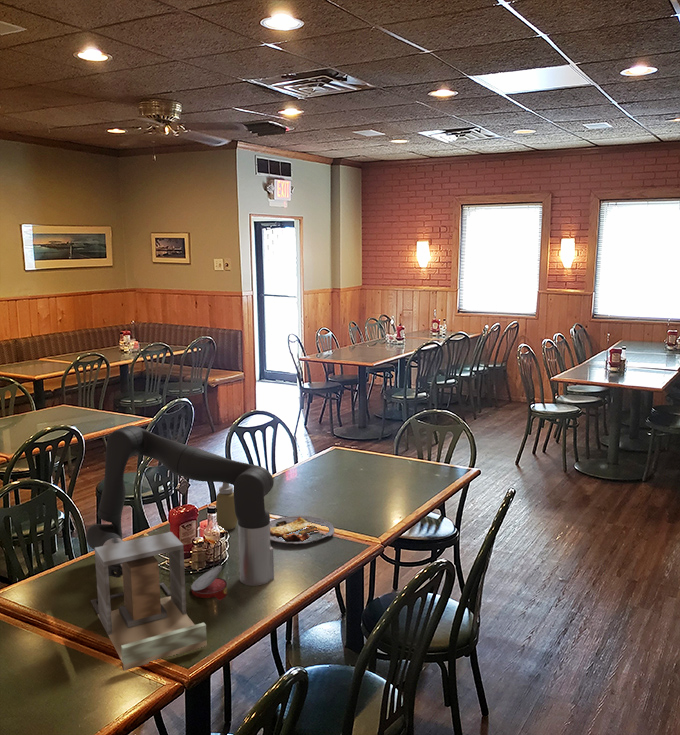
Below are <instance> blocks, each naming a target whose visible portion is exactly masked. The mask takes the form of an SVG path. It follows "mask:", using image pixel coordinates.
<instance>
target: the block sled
mask: <svg viewBox="0 0 680 735" xmlns="http://www.w3.org/2000/svg"><path fill="white" fill-rule="evenodd" d="M159 566H160V565H159V561H158V560H157V558H156V557H155V555H154V556H150V557H145V558H141V559H136V560H132V561H127V562H123V563H122V571H123V576H122V585H123V587H122V588H123V592H124V596H123V600H124V601H123V603H124V605H121V606H119V607H118V609H119V613H120V615H121V616H122V618H123V620H124V622H125V623H126V625H127V627H128V628H129V627H133V626H136V625H140V624H144V623H147V622H151V621H155V620H159V619H162V618H166V617H167V611H166V610H165V609H164V607H163V606H162V604H161V602H160V598H161V590H160V589H161V587H160V583H161V582H160V571H159V570H160V568H159Z"/></svg>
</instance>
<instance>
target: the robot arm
mask: <svg viewBox="0 0 680 735" xmlns="http://www.w3.org/2000/svg"><path fill="white" fill-rule="evenodd" d="M134 456H135V457H136V456H143V457H148V458H151V459H154V460H156V461H158V462H159V463H161V464H162V465H163V466H164V467H165V468H166V469H168V471H170V472H171V473H172V474H175V475H177V476H180V477H183V478H185V479H189V480H191V481H197V482H204V483H205V482H208V483H209V482H210V483H222V484H223V483H228V484H229V485H231V486H233V492H234V506H235V514H236V517H237V519H238V520H237V532H238V534H237V535H238V536H237V537H238V560H239V562H238V563H239V564H238V565H239V566H238V567H239V568H238V569H239V571H238V572H239V581H240V583H242V584H243V585H246V586H253V587H254V586H261V584H262V585H265V584H267V583H269V582H270V581H271V579H272V580H274V579H275V569H274V568H275V564H274V563H275V562H274V561H275V560H274V557H275V556H274V548H273V547H272V545H271V541H270V522H271V516H270V512H269V511H267V510H266V507H265V497H266V496H267V495H269V493H270V492H271V491H272V489H273V487H274V482H275V481H274V478H273V475H272V473H270V471H269V470H267V469H266V468H264V467H262V466H259V465H256V464H251V463H247V462H242V461H241V462H240V461H237V460H233V459H231V458H230V459H229V458H227V457H223V456H221V455H218V454H215V453H214V452H213V453H212V452H209V451H206V450H205V449H201V448H198V447H195V446H191V445H189V444H184V443H181V442H179V441H176V440H172V439H168V438H165V437H162V436H161V435H158V434H155V433H153V432H151V431H149V430H147V429H144V428H142V427H140V426H138V425H126V426H123V427H121V428H118V429H116V430H113V431H112V432H111V433H110V434H109V435H108V437H107V441H106V446H105V463H104V464H105V465H104V478H103V479H104V480H103V487H102V491H101V495H100V496H101V497H100V501H99V506H98V509H97V516H98V518H99V519H100V520H102V521H105V522H108V523H95V524H92V525H91V526H89V528H87V531H86V533H85V539H86V543H87V544H88V546H89V548H91V549H92V550H94V551H95V548H96V547H100V546H105V545H110V544H115V543H120V542H124V540H123V529H122V528H123V527H122V515H123V510H124V509H123V508H124V504H125V501H126V486H125V478H124V476H125V470H126V466H127V464H128V461H129V459H130V458H132V457H134ZM109 523H110V524H109ZM108 573H109V577H112V578H116V579H117V578H121V577H123V571H122V563H118V564H114V565H109V566H108Z"/></svg>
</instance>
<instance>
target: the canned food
mask: <svg viewBox="0 0 680 735" xmlns="http://www.w3.org/2000/svg"><path fill="white" fill-rule="evenodd" d="M222 569H223V565H219V566H218V565H217V566H216V567H214V568H212V569H209V570H208V571H206V572H204V573H203V574H201V576H199V577H197V579H196V580H194V581H193V583H192V584H191V586H190V587H191V594H192V595H193V596H195V597H197V598H202V599H203V598H204V599H208V598H209V599H211V598H216V599H217V601H219V602H220V601H222V600H223V599H225V598H226V597H227V596H228V582H227V581H226V580H225V579H224V578H221V577H218V575H219V573H221V571H222Z"/></svg>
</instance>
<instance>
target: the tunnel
mask: <svg viewBox="0 0 680 735" xmlns="http://www.w3.org/2000/svg"><path fill="white" fill-rule="evenodd" d="M123 541H124V540H123ZM184 553H185V552H184V543H182V541H180V539H179V538H178V537H177V536H176V535H175V534H174V533H173V531H168V532H163V533H158V534H154V535H149V536H144V537H139V538H134V539H131V540H125V541H124V542H120V543H115V544H110V545H105V546H100V547H96V548H95V550H94V559H95V576H96V578H95V579H96V589H97V598H95V599H90V603H91V605H92V607H93V609H94V612H96V615H97V617H98V618H99V620H100V622H101V625H102V626H103V628H104V630H105V632H106V634H107V635H108V637H109V640H110V642H111V643H112V646H114V650H115V651H116V653H117V654H118V655H117V656H118V657H119V659H120V660H121V663H122V665H121V668H122V670H123V671H124V672H125V671H128V670H131V669H135V668H137V667H140V666H144V665H147V664H150V663H149V662H150V661H153V660H157V659H160V658H165V657H168V656H172V657H174V656H173V655H175V656H177V655H176V654H178V655H182V654H184V652H185V653H188V651H189V652H191V650H192V651H194V650H195V651H196V650H198V648H199V649H202V648H204V646H205V647H207V646H208V642H207V641H208V639H207V624H206V623H205V622H201V623H200V622H199V623H197V624H195V623H194V622H193V621H192V619H191V618H190V617H189V616H188V614H187V597H186V596H187V594H186V578H185V577H186V576H185V574H186V572H185V554H184ZM161 554H168V567H169V568H168V570H169V587H168V586H167V585H166V584H165V583H164V582H159V583H160V588H162V590H163V591H164V593H166V595H167V596H165V597H160V602H161V604H162V606H163V607H164V609H165V610H166V611H167V617H166V618H162V619H159V620H155V621H151V622H147V623H144V624H140V625H136V626H133V627H129V628H128V627H127V625H126V623H125V622H124V620H123V618H122V616H121V615H120V613H119V608H117V609H114V610H112V604H111V600H112V599H115V598H119V597H124V591H122V592H118V593H114V594H111V592H110V590H111V589H110V576H109V573H108V566H109V565H114V564H118V563H123V562H127V561H132V560H136V559H141V558H145V557H150V556H154V557H155V556H157V555H161ZM201 647H202V648H201ZM181 653H182V654H181ZM168 658H169V657H168ZM165 659H166V658H165Z"/></svg>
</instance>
